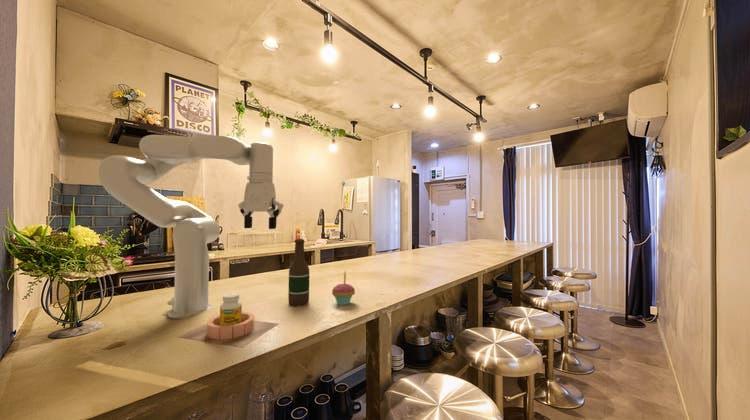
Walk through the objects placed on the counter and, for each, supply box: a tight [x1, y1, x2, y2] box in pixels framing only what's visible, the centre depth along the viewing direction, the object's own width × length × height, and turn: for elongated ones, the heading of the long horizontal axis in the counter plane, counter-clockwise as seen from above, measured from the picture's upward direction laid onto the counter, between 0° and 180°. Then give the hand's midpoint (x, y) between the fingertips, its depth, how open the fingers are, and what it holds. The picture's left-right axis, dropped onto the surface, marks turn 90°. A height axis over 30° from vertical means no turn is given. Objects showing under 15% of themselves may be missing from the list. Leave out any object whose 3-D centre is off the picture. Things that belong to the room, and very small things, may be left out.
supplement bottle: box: [219, 292, 243, 326], centre depth 77 cm, size 5×5×10 cm
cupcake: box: [331, 270, 356, 306], centre depth 105 cm, size 9×8×12 cm
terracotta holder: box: [206, 311, 255, 340], centre depth 77 cm, size 11×11×3 cm
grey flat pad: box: [178, 320, 279, 349], centre depth 77 cm, size 20×15×1 cm
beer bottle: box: [287, 238, 310, 307], centre depth 104 cm, size 8×8×24 cm
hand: (260, 228), depth 96 cm, fingers open, 9 cm apart
